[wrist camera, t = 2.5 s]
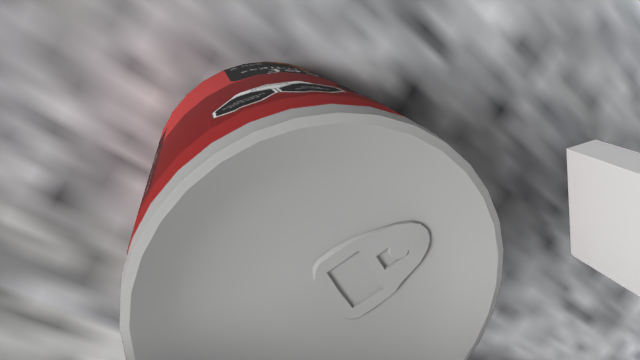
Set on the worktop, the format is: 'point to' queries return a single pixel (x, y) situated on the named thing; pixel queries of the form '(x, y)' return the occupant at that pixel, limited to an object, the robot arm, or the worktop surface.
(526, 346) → the worktop surface
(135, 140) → the worktop surface
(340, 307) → the canned food
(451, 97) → the worktop surface
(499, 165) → the worktop surface
